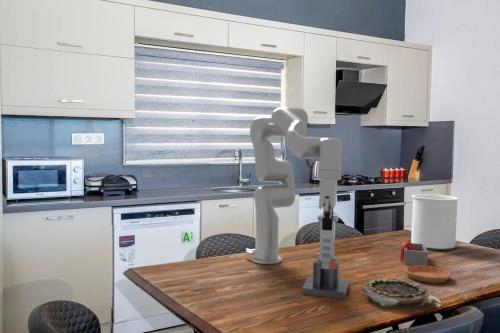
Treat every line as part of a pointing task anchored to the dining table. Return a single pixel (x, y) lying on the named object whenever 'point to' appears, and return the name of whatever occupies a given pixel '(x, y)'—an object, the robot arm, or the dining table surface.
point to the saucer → (427, 274)
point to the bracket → (405, 245)
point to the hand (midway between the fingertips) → (327, 228)
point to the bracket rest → (416, 255)
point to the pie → (397, 293)
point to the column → (327, 243)
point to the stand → (326, 281)
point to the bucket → (434, 221)
